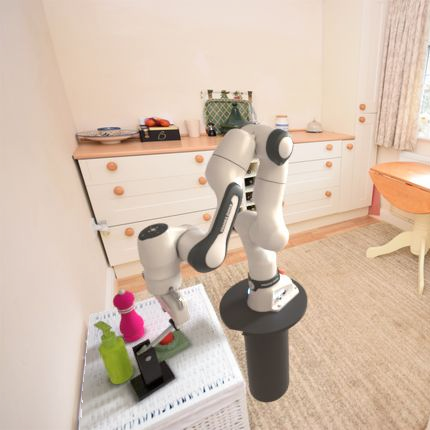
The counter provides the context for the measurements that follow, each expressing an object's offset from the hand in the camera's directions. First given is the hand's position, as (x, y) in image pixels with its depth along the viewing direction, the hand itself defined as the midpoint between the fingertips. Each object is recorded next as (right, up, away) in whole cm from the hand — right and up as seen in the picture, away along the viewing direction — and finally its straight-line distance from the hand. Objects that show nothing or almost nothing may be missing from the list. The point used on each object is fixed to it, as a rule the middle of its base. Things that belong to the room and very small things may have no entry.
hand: (172, 318), depth 86 cm
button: (-8, -11, +11) cm, 18 cm away
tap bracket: (-7, -20, +2) cm, 21 cm away
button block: (-8, -15, +13) cm, 21 cm away
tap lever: (-3, -6, 0) cm, 7 cm away
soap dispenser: (-17, -19, +3) cm, 26 cm away
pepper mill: (-22, -12, +17) cm, 31 cm away
